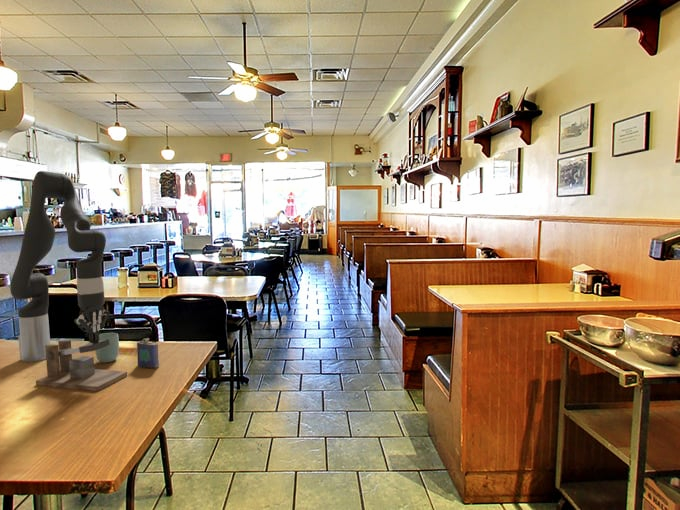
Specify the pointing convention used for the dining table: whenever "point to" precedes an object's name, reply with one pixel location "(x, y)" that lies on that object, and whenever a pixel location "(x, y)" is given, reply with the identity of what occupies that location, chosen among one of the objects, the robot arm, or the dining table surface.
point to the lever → (85, 347)
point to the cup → (108, 348)
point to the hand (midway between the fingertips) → (94, 342)
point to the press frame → (75, 371)
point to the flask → (147, 354)
